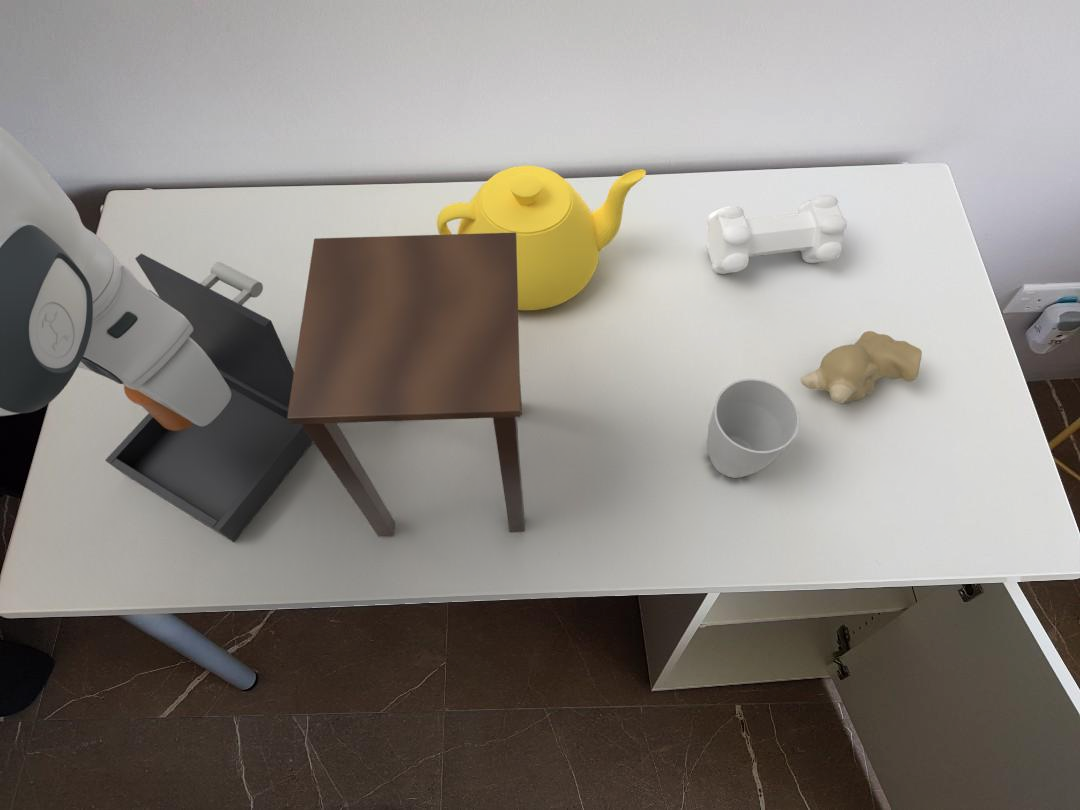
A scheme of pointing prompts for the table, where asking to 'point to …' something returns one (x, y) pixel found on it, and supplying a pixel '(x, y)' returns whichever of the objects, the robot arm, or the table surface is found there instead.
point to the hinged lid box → (217, 459)
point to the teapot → (544, 228)
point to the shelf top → (409, 330)
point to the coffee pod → (158, 411)
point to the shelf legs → (371, 503)
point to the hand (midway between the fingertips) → (161, 393)
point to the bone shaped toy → (775, 234)
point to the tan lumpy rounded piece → (864, 366)
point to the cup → (750, 426)
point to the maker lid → (227, 325)
